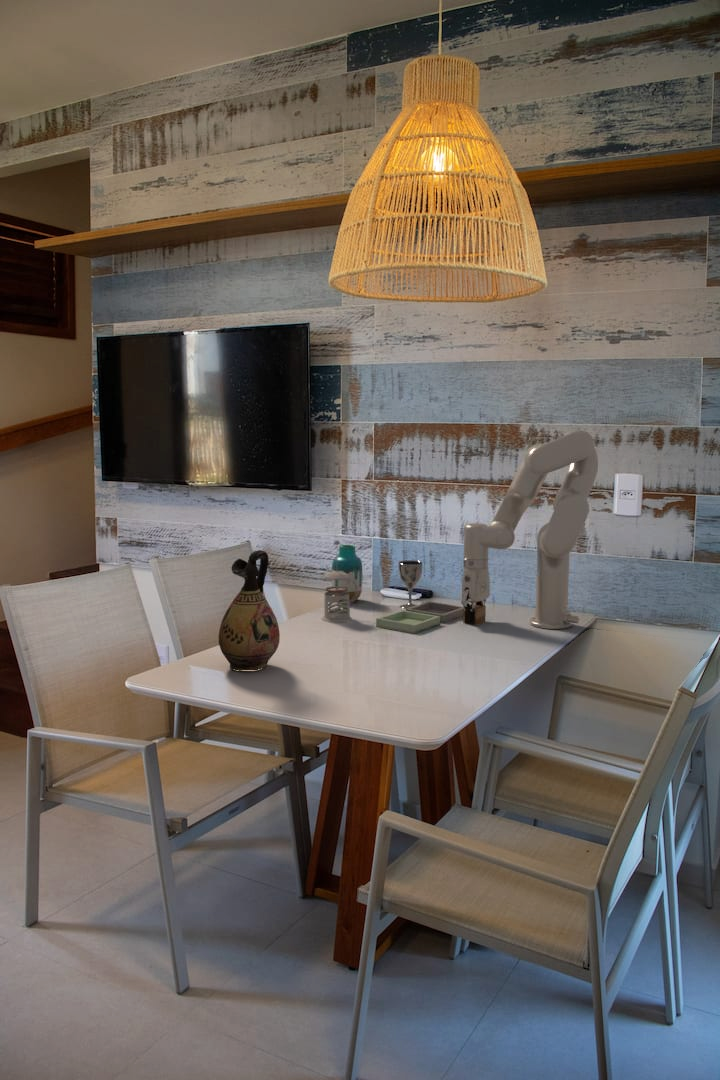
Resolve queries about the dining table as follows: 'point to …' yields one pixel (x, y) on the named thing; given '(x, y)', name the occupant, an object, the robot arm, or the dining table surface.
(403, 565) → the wine glass
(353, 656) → the dining table surface
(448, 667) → the dining table surface
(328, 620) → the french press
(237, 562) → the ceramic jug
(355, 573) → the vase
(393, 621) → the tray
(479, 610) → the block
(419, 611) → the brown square tray
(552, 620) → the robot arm
